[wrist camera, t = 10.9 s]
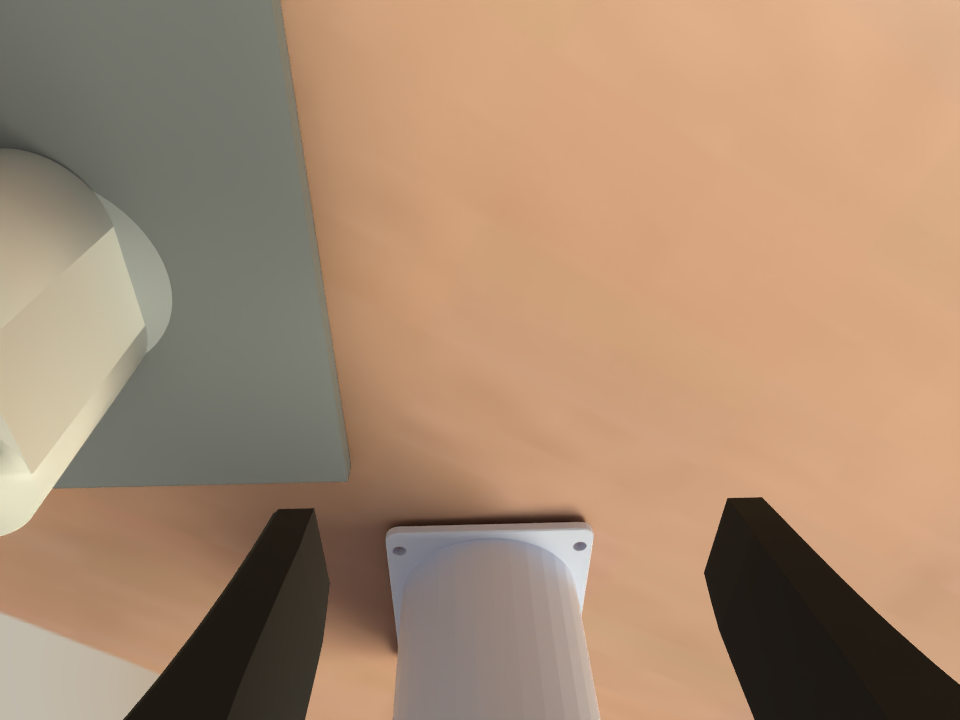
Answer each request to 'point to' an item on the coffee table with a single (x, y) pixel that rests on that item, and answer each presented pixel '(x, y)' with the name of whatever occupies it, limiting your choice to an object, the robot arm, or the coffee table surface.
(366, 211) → the coffee table surface
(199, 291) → the mat
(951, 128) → the coffee table surface
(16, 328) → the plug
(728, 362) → the coffee table surface
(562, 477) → the coffee table surface
